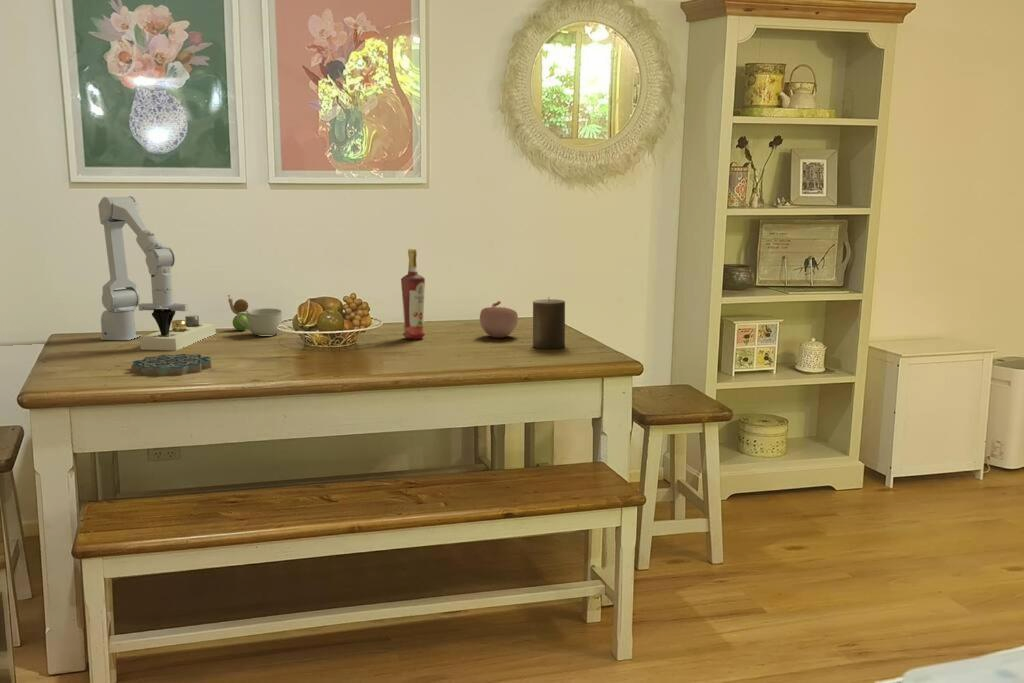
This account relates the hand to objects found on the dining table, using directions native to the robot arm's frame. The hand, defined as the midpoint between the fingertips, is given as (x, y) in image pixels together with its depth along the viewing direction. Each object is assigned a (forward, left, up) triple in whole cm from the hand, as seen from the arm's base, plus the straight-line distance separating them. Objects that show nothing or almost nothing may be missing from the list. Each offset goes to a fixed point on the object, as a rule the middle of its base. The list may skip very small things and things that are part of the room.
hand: (165, 334), depth 286 cm
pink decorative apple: (+96, +30, -4) cm, 101 cm away
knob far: (0, +18, 0) cm, 18 cm away
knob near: (0, 0, -3) cm, 3 cm away
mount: (0, +9, -4) cm, 10 cm away
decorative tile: (+16, -28, -4) cm, 33 cm away
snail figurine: (+10, +31, -4) cm, 33 cm away
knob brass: (0, +9, 0) cm, 9 cm away
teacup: (+20, +24, -4) cm, 31 cm away
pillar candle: (+113, +17, -4) cm, 114 cm away
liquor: (+70, +24, -4) cm, 74 cm away
